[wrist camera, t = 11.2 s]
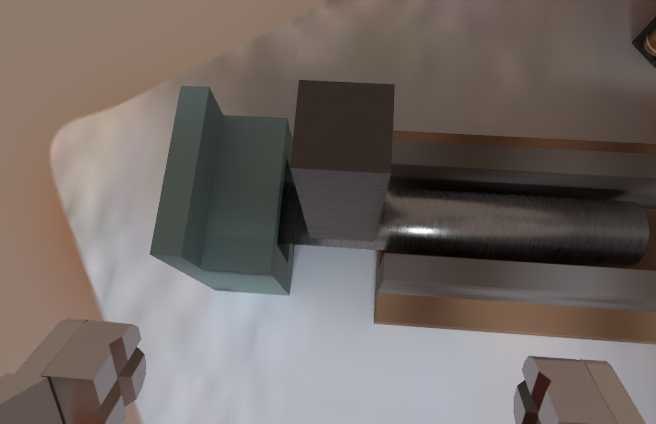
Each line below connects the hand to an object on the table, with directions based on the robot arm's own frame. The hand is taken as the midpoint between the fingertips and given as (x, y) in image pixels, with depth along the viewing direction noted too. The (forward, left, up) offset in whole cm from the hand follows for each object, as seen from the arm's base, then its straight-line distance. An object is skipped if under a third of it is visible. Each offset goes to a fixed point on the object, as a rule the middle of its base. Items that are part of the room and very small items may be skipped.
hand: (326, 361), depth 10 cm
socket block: (+4, -6, -12) cm, 14 cm away
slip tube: (-3, -6, -10) cm, 12 cm away
